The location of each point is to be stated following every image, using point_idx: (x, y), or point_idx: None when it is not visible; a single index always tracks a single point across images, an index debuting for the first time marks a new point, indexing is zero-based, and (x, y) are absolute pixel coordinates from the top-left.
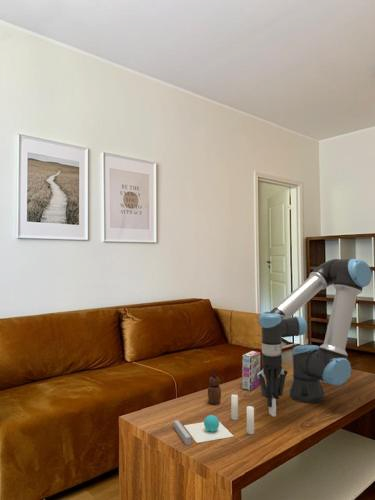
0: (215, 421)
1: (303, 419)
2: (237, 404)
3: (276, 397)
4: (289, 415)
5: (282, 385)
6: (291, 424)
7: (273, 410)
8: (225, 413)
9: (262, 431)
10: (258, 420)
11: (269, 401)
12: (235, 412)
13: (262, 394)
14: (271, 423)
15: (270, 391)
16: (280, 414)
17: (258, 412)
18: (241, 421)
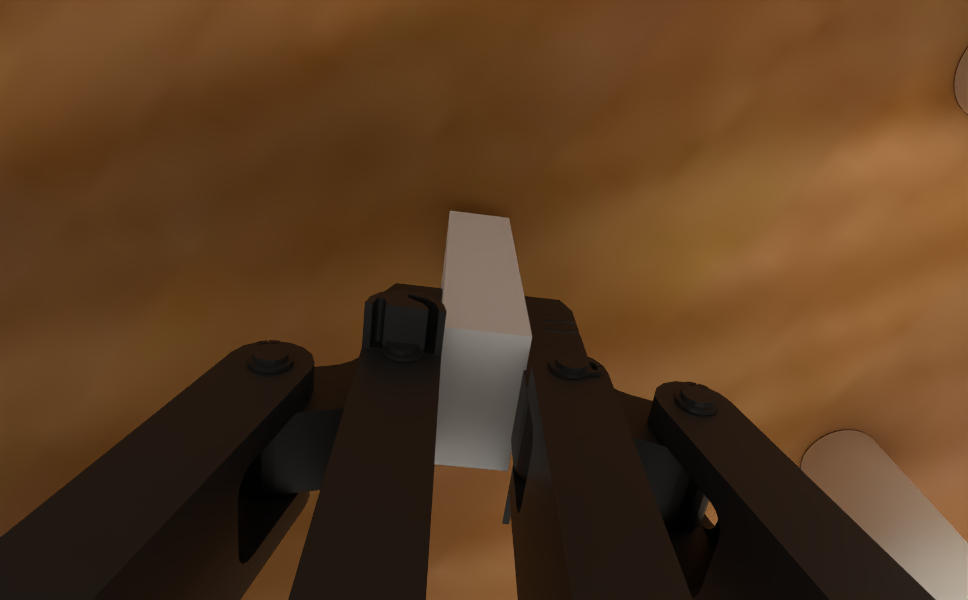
0: None
1: (28, 55)
2: (944, 569)
3: (438, 326)
4: (159, 253)
5: (87, 530)
6: (310, 3)
7: (500, 245)
8: None
9: (842, 23)
10: (637, 313)
11: (579, 350)
12: (912, 491)
13: (700, 532)
14: (552, 168)
15: (619, 469)
16: (260, 328)
17: (482, 477)
18: (832, 377)
